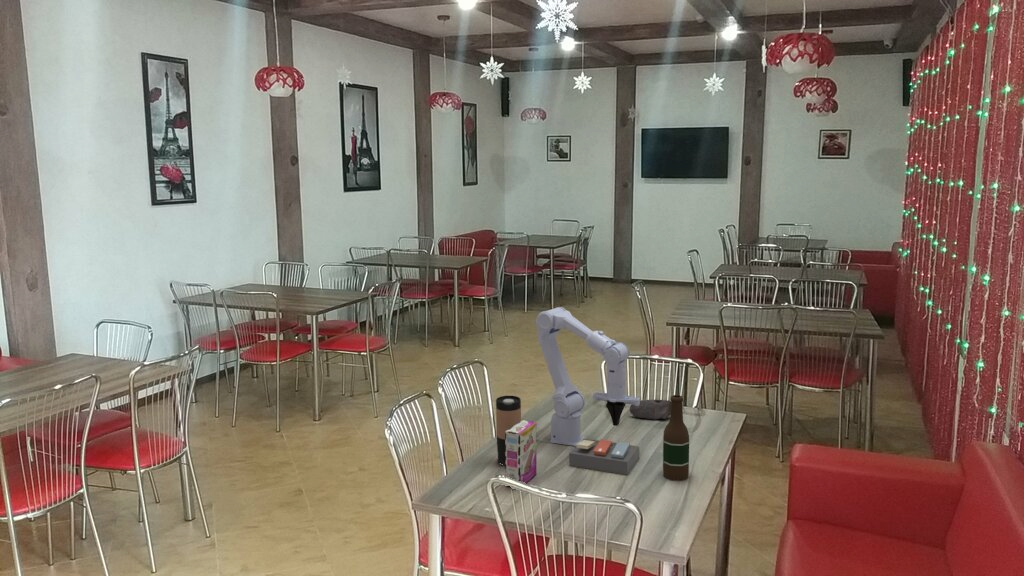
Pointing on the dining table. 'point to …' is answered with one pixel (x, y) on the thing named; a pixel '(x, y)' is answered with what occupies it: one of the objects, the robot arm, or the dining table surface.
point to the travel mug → (506, 420)
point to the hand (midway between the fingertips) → (615, 424)
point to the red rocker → (602, 447)
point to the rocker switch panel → (604, 459)
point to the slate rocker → (620, 450)
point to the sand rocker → (585, 444)
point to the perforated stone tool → (652, 409)
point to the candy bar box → (521, 451)
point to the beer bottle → (676, 443)
